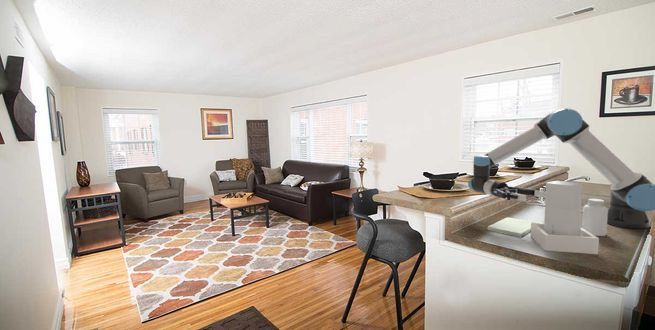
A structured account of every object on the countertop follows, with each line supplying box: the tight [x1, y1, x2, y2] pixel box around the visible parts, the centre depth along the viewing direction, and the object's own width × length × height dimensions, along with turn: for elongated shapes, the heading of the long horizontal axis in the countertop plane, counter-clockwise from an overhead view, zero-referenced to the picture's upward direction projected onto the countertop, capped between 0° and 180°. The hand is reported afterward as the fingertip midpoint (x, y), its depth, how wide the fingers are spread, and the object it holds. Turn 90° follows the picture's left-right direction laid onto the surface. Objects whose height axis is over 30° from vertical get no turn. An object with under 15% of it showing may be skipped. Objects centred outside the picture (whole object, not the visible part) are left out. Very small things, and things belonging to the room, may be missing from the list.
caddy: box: [530, 222, 600, 255], centre depth 118 cm, size 16×16×6 cm
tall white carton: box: [544, 179, 584, 236], centre depth 117 cm, size 9×9×25 cm
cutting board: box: [487, 216, 538, 238], centre depth 140 cm, size 22×14×2 cm, turn 128°
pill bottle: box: [581, 198, 608, 237], centre depth 128 cm, size 8×8×15 cm
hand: (537, 197), depth 126 cm, fingers open, 13 cm apart
